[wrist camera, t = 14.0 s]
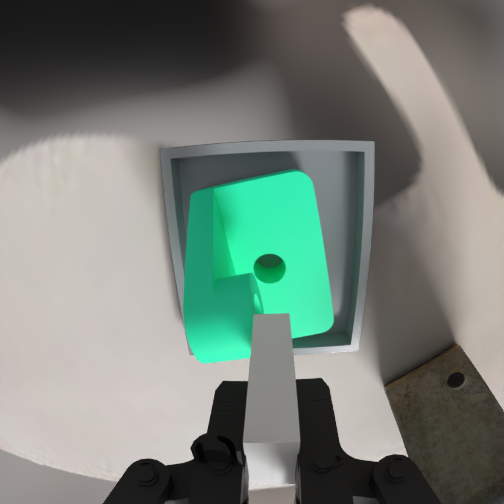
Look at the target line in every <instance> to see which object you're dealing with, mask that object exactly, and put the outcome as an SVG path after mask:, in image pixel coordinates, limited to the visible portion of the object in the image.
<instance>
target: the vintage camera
mask: <svg viewBox="0 0 504 504" xmlns="http://www.w3.org/2000/svg"><path fill="white" fill-rule="evenodd" d="M384 390H385V393H386V395H387V398H388V400H389V403H390V406H391V409H392V412H393V414H394V417H395V420H396V423H397V425H398V428H399V431H400V433H401V436H402V439H403V442H404V445H405V448H406V451H407V454H408V457H409V458H410V459H411V460H412V461H413V462H414V463H415V464H416V465H417V467H418V468H419V470H420V471H421V473H422V474H423V476H424V477H425V479H426V480H427V482H428V484H429V485H430V487H431V488H432V490H433V491H434V493H435V494H436V496H437V497H438V499H439V500H440V502H441V504H504V411H503V409H502V408H501V406H500V405H499V403H498V401H497V400H496V398H495V397H494V395H493V394H492V392H491V390H490V389H489V387H488V386H487V384H486V383H485V381H484V380H483V378H482V377H481V375H480V374H479V372H478V371H477V369H476V368H475V366H474V365H473V364H472V362H471V361H470V359H469V358H468V356H467V355H466V354H465V352H464V351H463V349H462V348H461V346H459V345H457V344H456V345H454V346H453V347H451V348H450V349H448V350H446V351H445V352H443V353H442V354H440V355H438V356H437V357H435V358H434V359H432V360H430V361H429V362H427V363H425V364H424V365H422V366H420V367H418V368H416V369H415V370H413V371H411V372H409V373H408V374H406V375H404V376H403V377H401V378H399V379H397V380H395V381H393V382H392V383H390V384H388V385H386V386H385V387H384Z"/></svg>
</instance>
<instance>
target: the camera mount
mask: <svg viewBox="0 0 504 504" xmlns="http://www.w3.org/2000/svg"><path fill="white" fill-rule="evenodd" d="M264 254H275V255H277V256H279V257H281V258H282V259H283V261H282V262H281V264H280V265H278V266H276V267H274V268H265V267H263V266H261V265H260V264H259V263H258V262H257V261H256V260H257V259H258V258H259V257H260V256H262V255H264ZM282 313H289V314H290V324H291V335H292V338H298V337H303V336H309V335H314V334H319V333H323V332H326V331H327V330H329V329H330V328H331V327H332V325H333V322H334V316H333V308H332V300H331V292H330V285H329V277H328V270H327V263H326V257H325V250H324V244H323V237H322V231H321V225H320V219H319V214H318V208H317V202H316V197H315V191H314V186H313V183H312V180H311V179H310V178H309V177H308V175H307V174H306V173H304V172H303V171H301V170H298V169H290V170H285V171H280V172H275V173H270V174H266V175H261V176H256V177H252V178H247V179H243V180H238V181H234V182H230V183H225V184H221V185H217V186H213V187H209V188H205V189H201V190H197V191H195V192H194V193H192V194H191V196H190V207H189V219H188V231H187V245H186V260H185V277H184V298H183V317H184V325H185V331H186V335H187V339H188V342H189V345H190V347H191V350H192V352H193V354H194V356H195V357H196V358H197V360H198V361H199V362H201V363H212V362H221V361H230V360H238V359H245V358H250V356H251V344H252V332H253V320H254V314H282Z"/></svg>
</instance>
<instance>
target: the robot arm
mask: <svg viewBox="0 0 504 504" xmlns="http://www.w3.org/2000/svg"><path fill="white" fill-rule="evenodd" d="M190 449H191V451H192V454H193V457H194V459H193V460H191V461H189V462H185V463H180V464H174V465H166V466H165V465H164V464H163V463H161V462H159V461H158V460H154V459H141V460H138V461H136V462H134V463H133V464H131V465H130V466H129V467H128V469H127V470H126V471H125V473H124V474H123V476H122V477H121V479H120V480H119V481H118V483H117V484H116V486H115V487H114V489H113V490H112V491H111V493H110V494H109V496H108V497H107V499H106V500H105V501H104V503H103V504H249V497H248V485H249V484H255V485H273V484H295V489H296V495H295V500H294V504H441V502H440V500H439V499H438V497H437V496H436V494H435V493H434V491H433V490H432V488H431V487H430V485H429V484H428V482H427V480H426V479H425V477H424V476H423V474H422V473H421V471H420V470H419V468H418V467H417V465H416V464H415V463H414V462H413V461H412V460H411V459H410V458H409V457H406V456H404V455H397V454H394V455H389V456H386V457H384V458H383V459H381V460H379V462H374V461H365V460H359V459H355V458H353V457H351V456H349V455H348V454H347V453H345V452H344V450H343V449H342V448H341V445H340V443H339V437H338V432H337V426H336V421H335V415H334V410H333V405H332V401H331V394H330V389H329V387H328V385H327V384H326V383H325V382H324V380H323V379H322V378H314V379H295V367H294V356H293V345H292V335H291V324H290V314H289V313H282V314H254V320H253V332H252V344H251V356H250V367H249V379H248V381H223V382H222V383H221V384H220V385H219V387H218V388H217V389H216V391H215V395H214V400H213V405H212V410H211V415H210V420H209V425H208V430H207V433H206V434H203V435H201V436H199V437H198V438H197V439H196V440H195V441H194V442H193V444H192V446H191V448H190Z"/></svg>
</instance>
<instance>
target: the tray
mask: <svg viewBox="0 0 504 504" xmlns="http://www.w3.org/2000/svg"><path fill="white" fill-rule="evenodd" d="M160 160H161V170H162V181H163V190H164V199H165V208H166V216H167V224H168V231H169V239H170V246H171V253H172V259H173V266H174V272H175V278H176V285H177V290H178V296H179V302H180V308H181V313H182V318H183V324H184V317H183V298H184V277H185V260H186V245H187V231H188V219H189V207H190V196H191V194H192V193H194V192H195V191H197V190H201V189H205V188H209V187H213V186H217V185H221V184H225V183H230V182H234V181H238V180H243V179H247V178H252V177H256V176H261V175H266V174H270V173H275V172H280V171H285V170H290V169H298V170H301V171H303V172H304V173H306V174H307V175H308V177H309V178H310V179H311V180H312V183H313V186H314V191H315V197H316V202H317V208H318V214H319V219H320V225H321V231H322V237H323V244H324V250H325V257H326V263H327V270H328V277H329V285H330V292H331V300H332V308H333V316H334V322H333V325H332V327H331V328H330V329H329V330H327V331H326V332H323V333H319V334H314V335H309V336H303V337H298V338H292V345H293V355H306V354H324V353H338V352H351V351H358V347H359V341H360V335H361V328H362V321H363V314H364V307H365V299H366V291H367V282H368V273H369V263H370V252H371V239H372V224H373V204H374V142H372V141H357V140H271V141H247V142H231V143H216V144H204V145H193V146H184V147H175V148H167V149H160ZM256 261H257V262H258V263H259V264H260V265H261V266H263V267H265V268H274V267H276V266H278V265H280V264H281V262H282V261H283V259H282V258H281V257H279V256H277V255H275V254H264V255H262V256H260V257H259V258H258V259H257V260H256ZM184 329H185V325H184ZM185 334H186V331H185ZM186 339H187V335H186ZM187 344H188V349H189V354H190V355H194V354H193V352H192V350H191V347H190V345H189V342H188V339H187Z"/></svg>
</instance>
